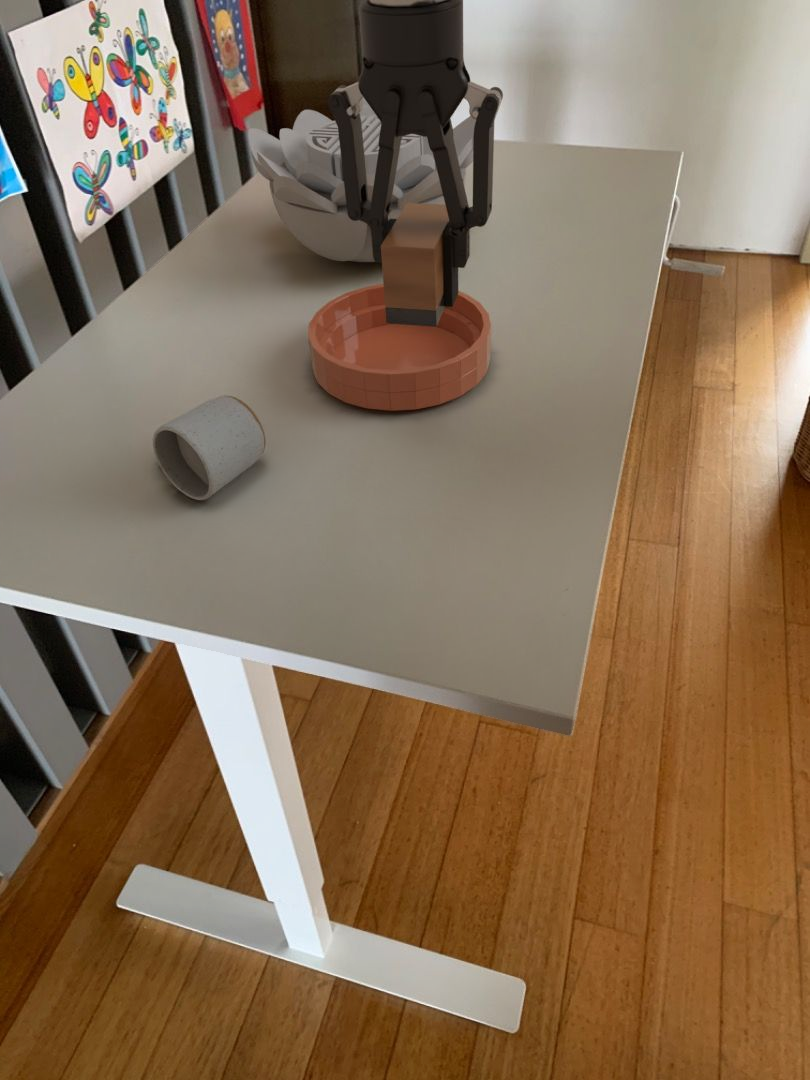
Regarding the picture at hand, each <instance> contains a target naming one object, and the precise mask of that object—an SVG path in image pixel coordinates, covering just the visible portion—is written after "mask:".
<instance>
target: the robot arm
mask: <svg viewBox="0 0 810 1080" xmlns="http://www.w3.org/2000/svg"><path fill="white" fill-rule="evenodd" d="M358 18H359V32H360V44H361V45H360V46H361V56H362V57H361V58H362V67H361V72H360V75H359V77H358V81H356V82H354V83H352V84H350V85H345V84H342V85H339V86H338V87H337V88H336V89H335V90H334V91H333V92H332V93H331V94H330V95H329V97H328V98H327V105H328V108H329V110H330V112H331V114H332V115H331V116H332V117H333V119H334V121H335V122H336V124H337V126H338V133H339V142H340V151H341V160H342V169H343V178H344V187H345V196H346V205H347V214H348V217H349V218H350V219H351V220H353V221H358V220H360V221H362V222H365V223H366V224H368V225H369V227H370V229H371V238H372V250H373V258H374V260H375V262H374V263H375V264H382V256H381V245H382V243H383V241H384V240H385V238H386V236H387V235H388V233H389V232H390V230H391V228H392V227H393V225H394V223H395V222H396V220H397V219H389V221H388V215H389V214H390V212H391V209H390V206H391V200H392V194H393V188H394V182H395V175H396V169H397V163H398V157H399V151H400V145H401V140H402V137H403V136H405V135H409V134H416V135H419V136H423V137H427V139H428V143H429V147H430V150H431V151H432V152H433V156H434V160H435V164H436V168H437V172H438V176H439V180H440V184H441V189H442V193H443V197H444V201H445V205H446V209H447V213H448V217H449V223H448V225H447V227H446V229H445V231H444V233H443V280H444V306H445V307H453V304H454V302H455V300H456V297H457V295H458V291H459V268H460V269H464V268H465V267H466V265H467V263H468V260H469V259H470V255H471V254H470V253H471V251H470V250H471V241H470V240H471V238H470V237H471V236H470V235H471V234H470V233H471V232H470V231H471V229H472V228H475V227H478V228H481V227H482V228H483V227H484V226H485V225H486V224H487V222H488V220H489V217H490V215H491V213H492V210H493V189H494V188H493V187H494V186H493V185H494V177H493V176H494V151H495V149H494V148H495V146H494V145H495V120H496V117H497V114H498V111H499V110H500V106H501V103H502V101H503V98H504V93H503V90H502V89H501V88H500V87H498V86H492V87H491V88H487V87H485V86H482V85H480V84H478V83H475V82H473V81H472V80H471V75H470V73H469V71H468V69H467V67H466V65H465V59H464V0H361V1H360V4H359V5H358ZM363 97H364V99H365V100H366V101H367V103H368V104H369V106H370V107H371V108H372V110H373V111H374V113H375V114H376V116H377V117H378V118H379V120H380V121H381V129H380V136H379V152H378V159H377V166H376V173H375V180H374V187H373V193H372V200H371V202H369V200H368V189H367V178H366V167H365V156H364V146H363V135H362V124H361V117H360V112H361V111H362V109H363V104H362V98H363ZM463 100H466V101H467V103H468V105H469V106H468V107H469V109H468V110H469V111H468V112H469V113H468V114H469V117H470V116H471V117H472V118H473V119H475V120H476V122H475V127H474V136H473V162H472V206H470V205H469V201H468V196H467V192H466V188H465V187H466V186H465V187H464V183H463V179H462V174H461V170H460V166H459V161H458V157H457V152H456V148H455V144H454V139H453V129H454V127H453V123H452V120H451V118H452V117H453V116H454V113H455V112H456V110H457V109H458V108H459V106H460V105H461V103H462V101H463Z"/></svg>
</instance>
